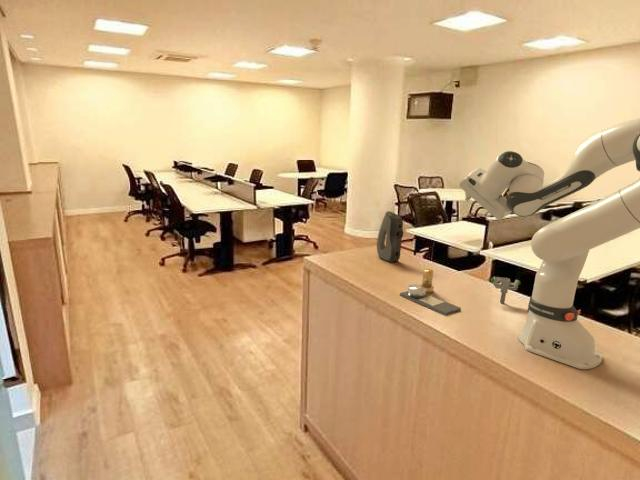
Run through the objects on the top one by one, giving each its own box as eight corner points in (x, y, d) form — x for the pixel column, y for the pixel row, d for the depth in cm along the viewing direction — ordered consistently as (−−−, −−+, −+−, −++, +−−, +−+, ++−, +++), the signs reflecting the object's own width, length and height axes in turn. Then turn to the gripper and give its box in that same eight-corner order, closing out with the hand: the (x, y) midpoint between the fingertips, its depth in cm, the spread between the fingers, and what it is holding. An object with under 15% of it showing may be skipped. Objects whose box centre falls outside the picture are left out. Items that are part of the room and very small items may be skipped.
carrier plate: (460, 310, 152) (461, 300, 151) (445, 315, 147) (446, 305, 146) (415, 291, 169) (416, 282, 169) (399, 295, 164) (400, 285, 163)
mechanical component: (516, 306, 159) (521, 281, 156) (489, 302, 161) (492, 278, 158) (515, 303, 162) (519, 279, 159) (487, 300, 164) (491, 276, 161)
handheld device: (392, 264, 206) (397, 214, 200) (371, 256, 218) (375, 209, 212) (401, 262, 209) (405, 214, 203) (380, 254, 221) (383, 209, 215)
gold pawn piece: (436, 292, 170) (438, 271, 168) (427, 294, 167) (429, 273, 165) (425, 287, 174) (427, 267, 172) (416, 290, 171) (418, 269, 169)
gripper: (520, 201, 143) (503, 221, 155) (475, 164, 150) (462, 186, 162) (509, 211, 141) (492, 230, 153) (463, 173, 148) (451, 194, 160)
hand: (476, 207), depth 158 cm, fingers open, 8 cm apart
